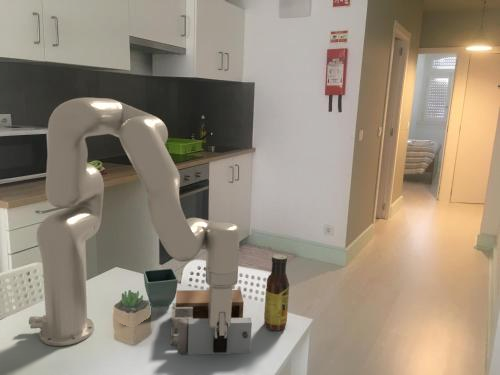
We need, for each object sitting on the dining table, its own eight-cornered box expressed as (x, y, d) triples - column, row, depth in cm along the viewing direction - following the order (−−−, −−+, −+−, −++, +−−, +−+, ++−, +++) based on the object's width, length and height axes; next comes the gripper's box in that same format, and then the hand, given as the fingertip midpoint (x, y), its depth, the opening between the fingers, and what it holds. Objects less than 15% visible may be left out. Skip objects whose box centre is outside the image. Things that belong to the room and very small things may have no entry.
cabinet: (175, 327, 111) (175, 303, 109) (176, 313, 118) (176, 290, 117) (242, 325, 113) (243, 302, 112) (239, 312, 121) (240, 289, 119)
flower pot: (178, 308, 121) (178, 279, 119) (147, 312, 118) (147, 282, 116) (172, 295, 129) (172, 267, 127) (143, 298, 126) (143, 270, 124)
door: (177, 357, 98) (177, 326, 97) (178, 349, 101) (178, 319, 100) (250, 354, 101) (252, 324, 99) (248, 347, 104) (250, 317, 102)
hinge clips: (170, 345, 103) (171, 319, 101) (172, 327, 111) (172, 303, 109) (192, 344, 103) (192, 318, 102) (192, 327, 111) (192, 302, 110)
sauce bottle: (285, 333, 111) (290, 262, 107) (261, 329, 112) (265, 260, 108) (287, 321, 117) (292, 254, 113) (265, 317, 118) (269, 251, 114)
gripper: (204, 261, 105) (203, 327, 109) (206, 291, 89) (204, 368, 93) (234, 261, 106) (231, 327, 110) (241, 291, 90) (238, 366, 94)
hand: (219, 345), depth 101 cm, fingers open, 4 cm apart
